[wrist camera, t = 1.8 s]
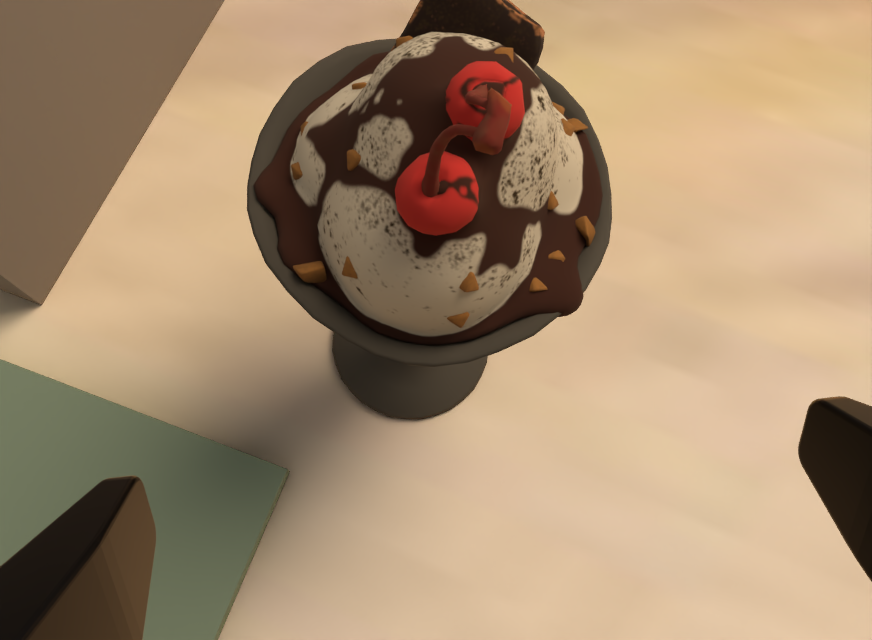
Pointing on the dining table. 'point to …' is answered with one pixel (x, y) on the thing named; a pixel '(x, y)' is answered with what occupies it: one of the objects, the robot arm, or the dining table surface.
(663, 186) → the dining table surface
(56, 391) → the rubber mat
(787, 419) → the dining table surface
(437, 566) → the dining table surface
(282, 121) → the sundae
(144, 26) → the partition board
